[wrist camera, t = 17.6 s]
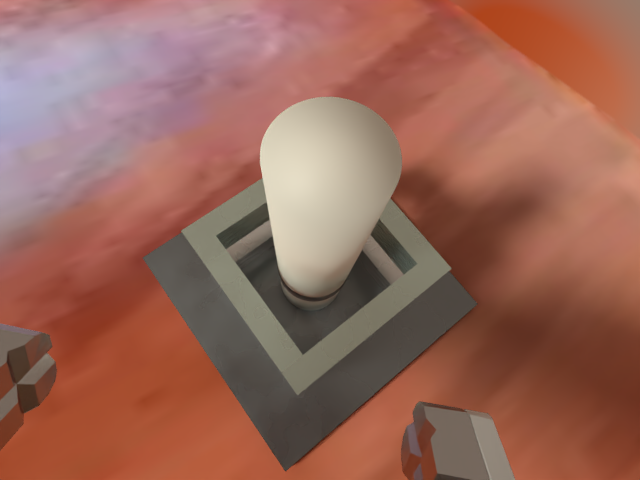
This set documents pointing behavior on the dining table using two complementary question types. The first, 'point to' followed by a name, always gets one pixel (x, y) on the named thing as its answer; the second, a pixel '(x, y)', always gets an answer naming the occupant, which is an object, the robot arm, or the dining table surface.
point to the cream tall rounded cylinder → (325, 191)
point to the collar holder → (305, 317)
